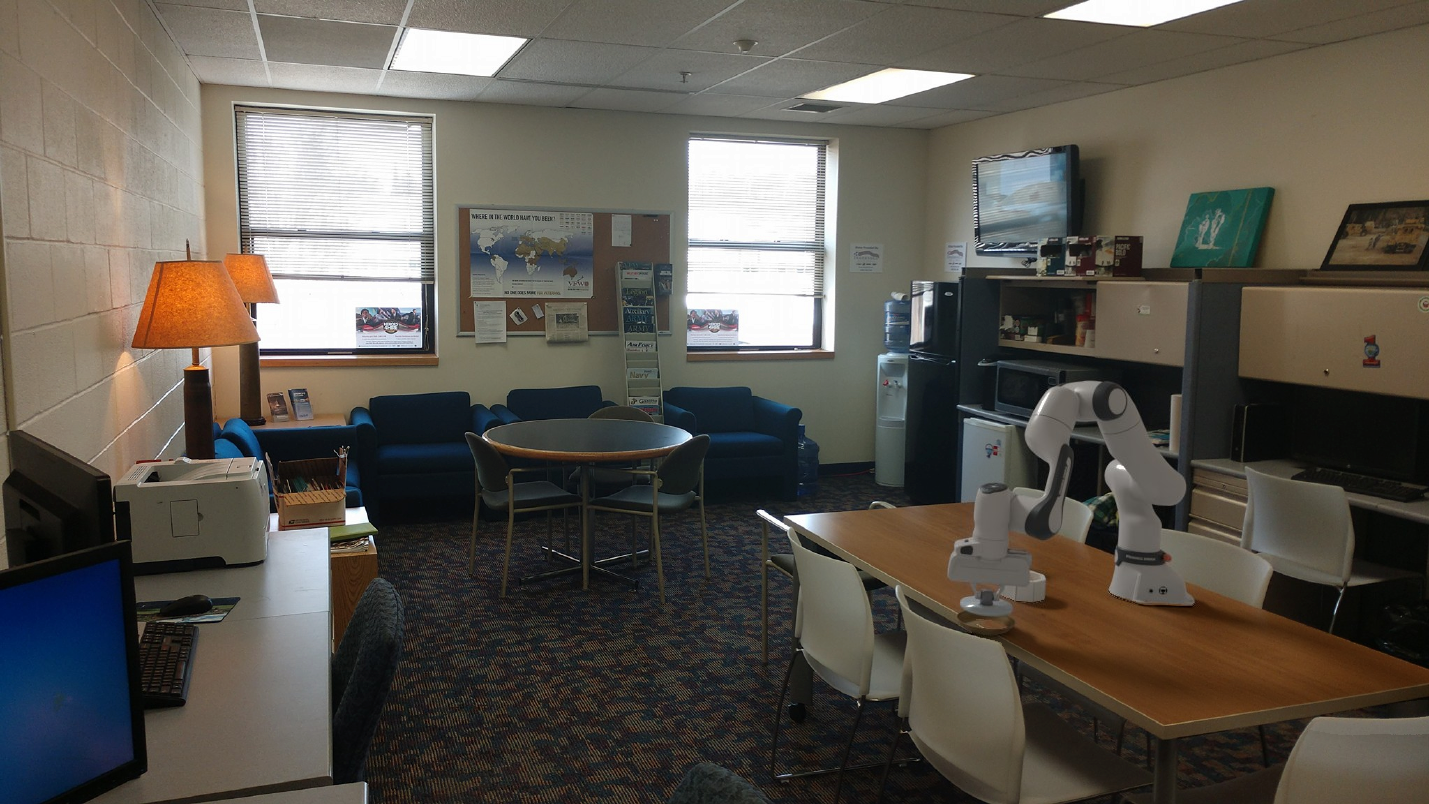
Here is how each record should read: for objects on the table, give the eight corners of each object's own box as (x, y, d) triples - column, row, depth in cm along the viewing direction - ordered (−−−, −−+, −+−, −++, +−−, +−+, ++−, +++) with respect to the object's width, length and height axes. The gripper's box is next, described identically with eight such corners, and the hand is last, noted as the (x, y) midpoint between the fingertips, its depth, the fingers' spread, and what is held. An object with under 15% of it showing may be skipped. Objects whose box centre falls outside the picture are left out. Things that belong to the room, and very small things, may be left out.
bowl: (1041, 591, 278) (1042, 571, 277) (1046, 604, 267) (1047, 583, 266) (999, 587, 280) (1000, 567, 280) (1002, 600, 269) (1004, 579, 269)
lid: (1010, 602, 251) (1011, 585, 251) (1014, 618, 239) (1015, 601, 238) (959, 597, 254) (960, 581, 254) (960, 613, 242) (961, 596, 241)
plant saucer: (958, 636, 241) (958, 626, 241) (953, 616, 255) (953, 607, 255) (1019, 641, 239) (1019, 631, 238) (1010, 621, 253) (1011, 611, 253)
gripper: (1031, 547, 245) (1027, 599, 247) (949, 540, 250) (946, 592, 251) (1034, 553, 239) (1030, 607, 241) (949, 547, 244) (946, 599, 245)
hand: (986, 599), depth 246 cm, fingers closed on lid, 3 cm apart
